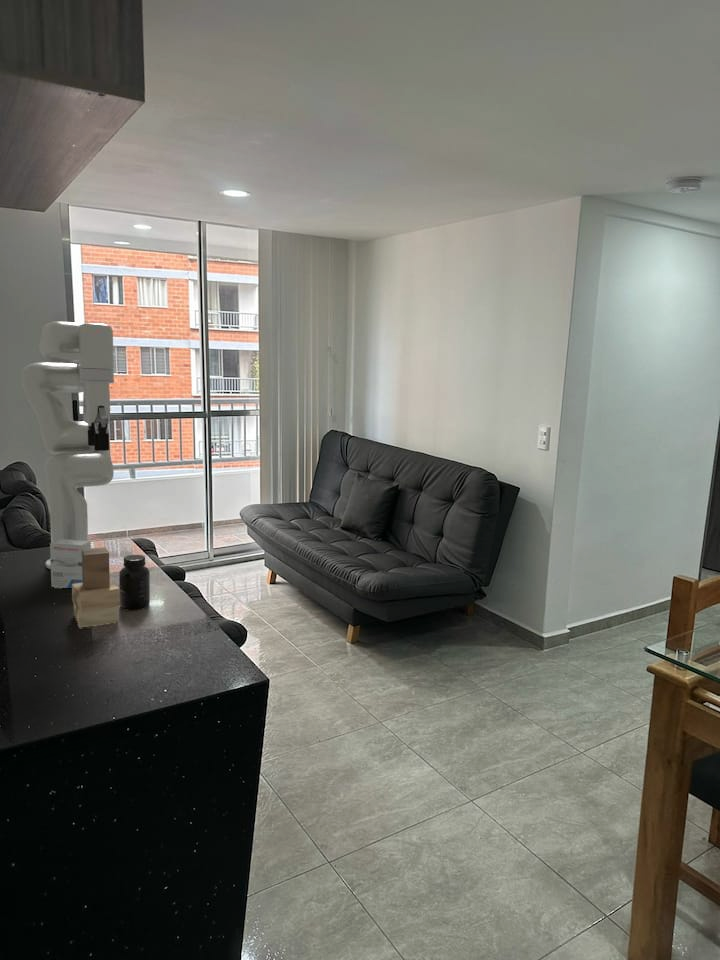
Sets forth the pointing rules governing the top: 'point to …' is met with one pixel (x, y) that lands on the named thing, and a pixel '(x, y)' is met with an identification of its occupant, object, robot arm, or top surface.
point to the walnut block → (95, 568)
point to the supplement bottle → (134, 583)
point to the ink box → (67, 562)
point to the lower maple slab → (96, 616)
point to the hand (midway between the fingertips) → (98, 447)
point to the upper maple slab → (95, 597)
